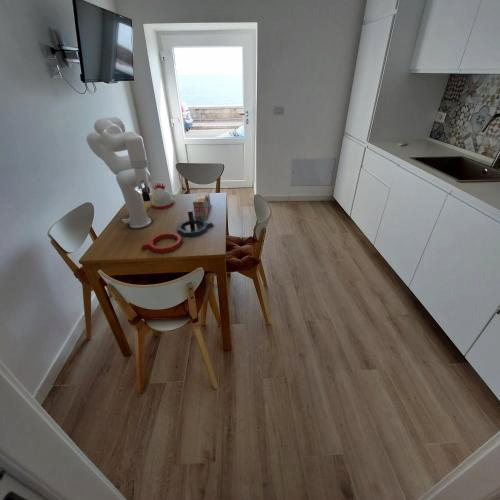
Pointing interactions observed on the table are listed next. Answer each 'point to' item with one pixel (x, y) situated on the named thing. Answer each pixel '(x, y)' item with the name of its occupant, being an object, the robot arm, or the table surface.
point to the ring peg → (192, 223)
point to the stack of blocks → (201, 205)
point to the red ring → (163, 249)
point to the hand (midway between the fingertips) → (147, 197)
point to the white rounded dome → (161, 197)
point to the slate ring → (194, 233)
